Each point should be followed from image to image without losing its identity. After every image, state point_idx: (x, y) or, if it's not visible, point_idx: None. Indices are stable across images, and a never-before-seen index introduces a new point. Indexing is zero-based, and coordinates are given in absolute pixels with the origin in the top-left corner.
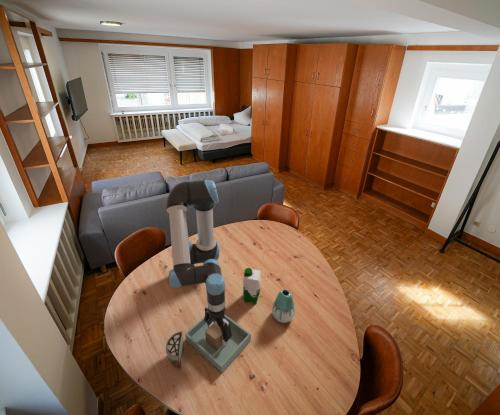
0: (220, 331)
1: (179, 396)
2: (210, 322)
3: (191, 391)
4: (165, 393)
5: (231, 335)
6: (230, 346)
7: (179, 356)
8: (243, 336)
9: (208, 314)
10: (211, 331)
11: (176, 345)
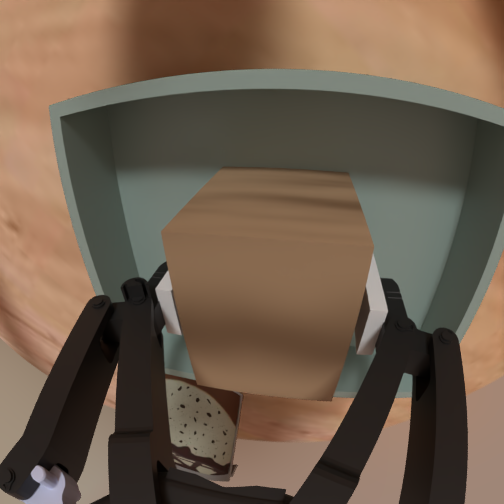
0: (311, 346)
1: (314, 430)
2: (163, 376)
3: (338, 417)
4: (272, 435)
5: (456, 353)
6: (393, 230)
7: (220, 440)
8: (433, 106)
9: (82, 412)
10: (238, 374)
11: (177, 456)
